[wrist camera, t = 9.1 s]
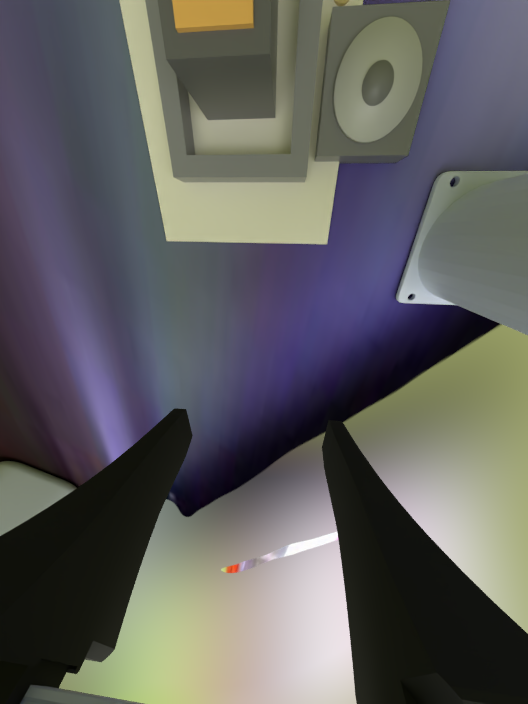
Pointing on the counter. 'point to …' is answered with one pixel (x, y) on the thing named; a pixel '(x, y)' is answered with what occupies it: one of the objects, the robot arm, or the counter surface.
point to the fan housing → (376, 79)
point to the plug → (224, 54)
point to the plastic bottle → (26, 493)
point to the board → (239, 139)
